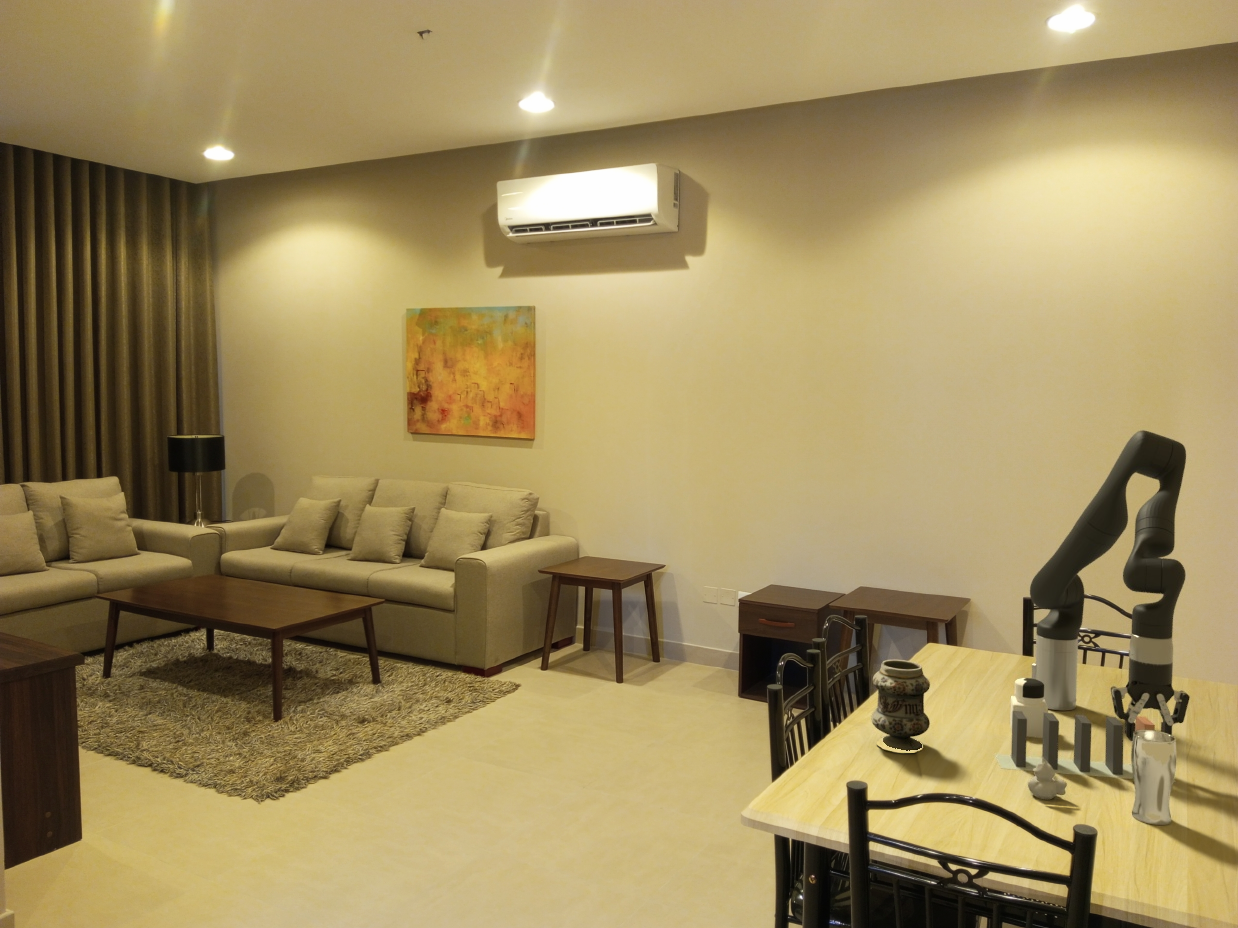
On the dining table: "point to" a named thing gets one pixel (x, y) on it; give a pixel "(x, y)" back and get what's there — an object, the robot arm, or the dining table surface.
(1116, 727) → the domino
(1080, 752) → the domino
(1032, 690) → the medicine bottle
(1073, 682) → the robot arm
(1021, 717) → the domino
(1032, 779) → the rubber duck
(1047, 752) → the domino
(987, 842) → the dining table surface
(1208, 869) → the dining table surface
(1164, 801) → the beer glass
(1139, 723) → the domino
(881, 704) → the apothecary jar
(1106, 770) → the mat
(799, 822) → the dining table surface
